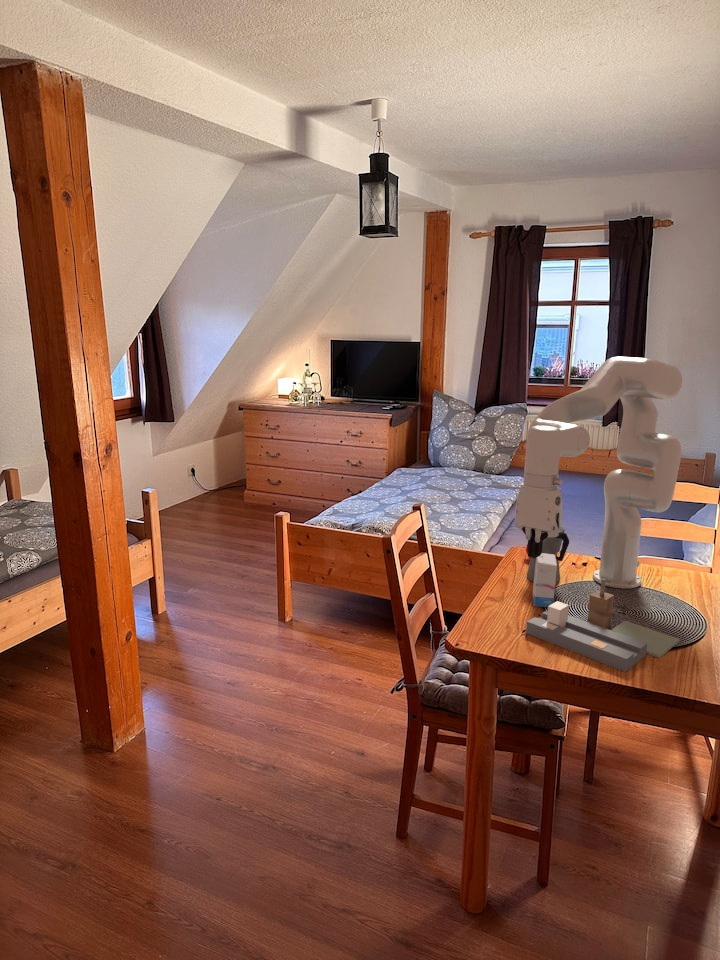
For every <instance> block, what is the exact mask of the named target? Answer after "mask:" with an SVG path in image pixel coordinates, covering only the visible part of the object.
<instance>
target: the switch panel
mask: <svg viewBox="0 0 720 960" xmlns="http://www.w3.org/2000/svg"><path fill="white" fill-rule="evenodd" d="M547 616H548V609H547V610H544V611H543V612H542V613H541V616H540V617H536V616H534V617H532V618H531V619H530V618H529V619H528V620H527V621H526V631H525V633H526V634H527V635H530V636H533V637H534V638H537V639H540V640H541V641H545V642H547V643H550V644H552V645H555V646H558V647H561V648H562V649H565V650H568V651H570V652H573V653H575V654H578V655H580V656H584V657H585V658H588V659H590V660H593V661H596V662H599V663H602V664H603V665H606V666H609V667H611V668H614V669H616V670H619V671H622V672H624V673H626V672H627V671H628V670H630V669H632V668H633V666H635V665H636V664H637V663H639V662H640V661H642V659H644V658H645V657H646V656H647V654H646V651H647V643H645V642H643V641H640V640H637V639H634V638H631V637H628V636H626V635H623V634H620V633H617V632H614V631H611V630H612V629H609V628H607V629H606V628H603V627H600V626H597V625H594V624H592V623H589V622H587V621H586V620H582V619H579V618H578V617H575V616H572V615H569V614H568V620H567V621H566V625H565V626H564V627H561V626H558V625H555V624H552V623H550V622H548V621H547Z"/></svg>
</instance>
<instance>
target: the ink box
mask: <svg viewBox="0 0 720 960" xmlns="http://www.w3.org/2000/svg"><path fill="white" fill-rule="evenodd" d="M556 573H557V563H556V557H555V555H554V554H546V553H541V555H540V556H539V557H536V565H535V574H534V582H533V584H532V585H533V587H532V600H533V606H534V607H538V608H539V607H541V608H548V606H549V605H551V604H553V603H554V600H555V589H556V583H555V582H556Z"/></svg>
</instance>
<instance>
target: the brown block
mask: <svg viewBox="0 0 720 960" xmlns="http://www.w3.org/2000/svg"><path fill="white" fill-rule="evenodd" d="M605 583H606V579H601V584H600V590H595V591H594V592H593V593H590V595H589V601H588V612H587V613H588V614H587V621H586V622H589V623H592V624H594V625H597V626H600V627H603V628H606V629H609V628H610V627H612V616H613V611H614V610H613V609H614V607H613V606H614V599H615V595H614V594H612V593H608V592H605V591H606V585H605ZM608 627H609V628H608Z"/></svg>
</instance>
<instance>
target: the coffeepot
mask: <svg viewBox="0 0 720 960" xmlns="http://www.w3.org/2000/svg"><path fill="white" fill-rule="evenodd" d="M536 532H537V530H536ZM569 544H570V538H569V537H568V535H567V532H566V533H565V528H564V527H563V526H562V525H561V527H560V528H559V529H558V536H557V537H547V538H546V539H545V540H543V546H542V553H546V554H554V555H555V557H556V563H557V573H556V582H555V584H557V583H559V582H560V581H561V574H560V563H559V562H562V561H564V557H565V555H566V553H567V549H568V547H569ZM558 554H559V556H558ZM535 565H536V558H532V557H531V560H530V559H529V565H528V567H527V571H526V577H527V579H528V580H529V581H531V582H533V583H534V574H535Z"/></svg>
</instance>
